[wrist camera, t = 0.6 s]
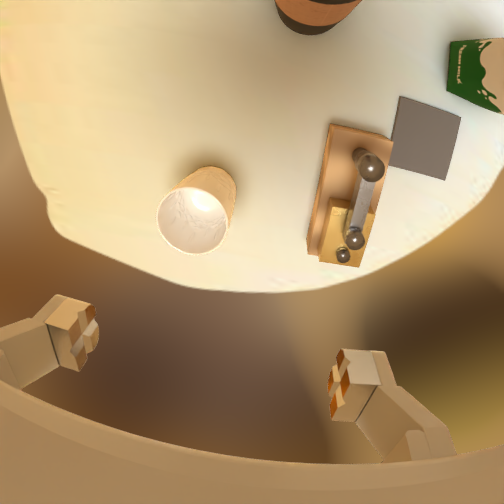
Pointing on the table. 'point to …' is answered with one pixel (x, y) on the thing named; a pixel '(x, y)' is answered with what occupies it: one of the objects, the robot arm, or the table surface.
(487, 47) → the milk carton
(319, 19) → the travel mug
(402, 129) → the rubber mat
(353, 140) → the plane body
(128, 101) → the table surface
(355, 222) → the lever
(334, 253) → the gold block with knob
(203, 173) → the white cup
